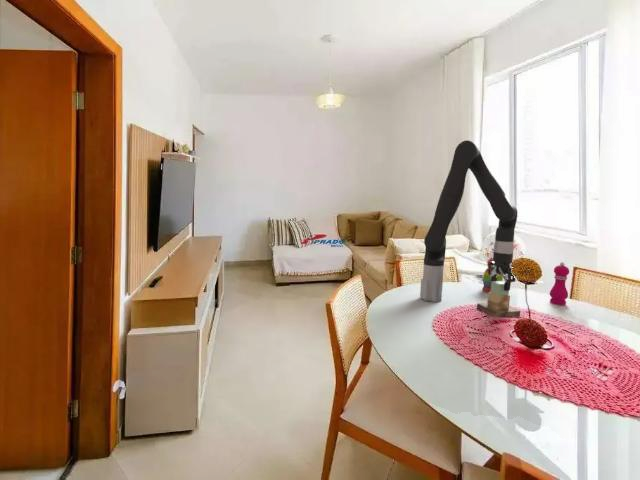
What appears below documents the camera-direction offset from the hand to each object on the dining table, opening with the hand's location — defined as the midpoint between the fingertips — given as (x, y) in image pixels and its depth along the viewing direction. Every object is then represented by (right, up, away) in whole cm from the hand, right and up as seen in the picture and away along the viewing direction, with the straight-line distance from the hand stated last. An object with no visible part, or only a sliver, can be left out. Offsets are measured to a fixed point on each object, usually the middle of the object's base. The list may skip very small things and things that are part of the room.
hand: (499, 288), depth 151 cm
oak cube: (0, -9, +1) cm, 9 cm away
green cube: (0, -3, 0) cm, 3 cm away
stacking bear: (+14, -7, +34) cm, 37 cm away
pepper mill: (+35, -10, +15) cm, 39 cm away
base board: (0, -11, +1) cm, 11 cm away
